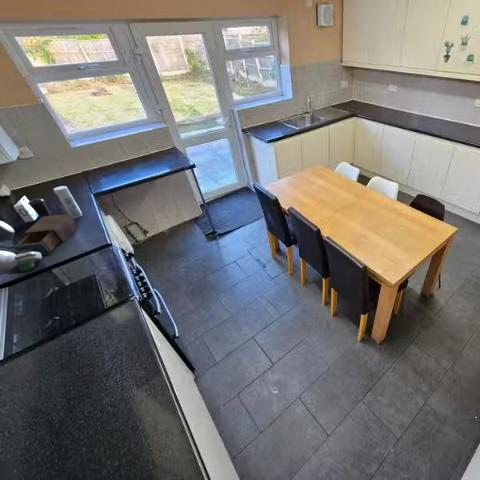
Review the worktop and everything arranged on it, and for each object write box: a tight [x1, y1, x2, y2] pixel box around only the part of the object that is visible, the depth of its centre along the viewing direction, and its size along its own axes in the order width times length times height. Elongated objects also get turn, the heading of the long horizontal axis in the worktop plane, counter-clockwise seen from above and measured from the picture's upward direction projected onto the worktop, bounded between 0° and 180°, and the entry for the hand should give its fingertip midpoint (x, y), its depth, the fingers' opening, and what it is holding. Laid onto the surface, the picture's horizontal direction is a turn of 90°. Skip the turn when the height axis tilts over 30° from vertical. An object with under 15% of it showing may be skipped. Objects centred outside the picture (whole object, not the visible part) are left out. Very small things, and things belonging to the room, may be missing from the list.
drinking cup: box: [28, 191, 53, 219], centre depth 172 cm, size 8×8×20 cm
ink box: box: [13, 195, 40, 223], centre depth 175 cm, size 8×5×15 cm, turn 25°
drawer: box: [13, 231, 61, 256], centre depth 150 cm, size 20×13×8 cm, turn 10°
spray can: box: [53, 185, 83, 219], centre depth 175 cm, size 6×6×20 cm
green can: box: [17, 262, 35, 274], centre depth 139 cm, size 6×6×8 cm
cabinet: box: [24, 213, 79, 244], centre depth 161 cm, size 17×15×10 cm
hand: (24, 262), depth 139 cm, fingers closed on green can, 5 cm apart
